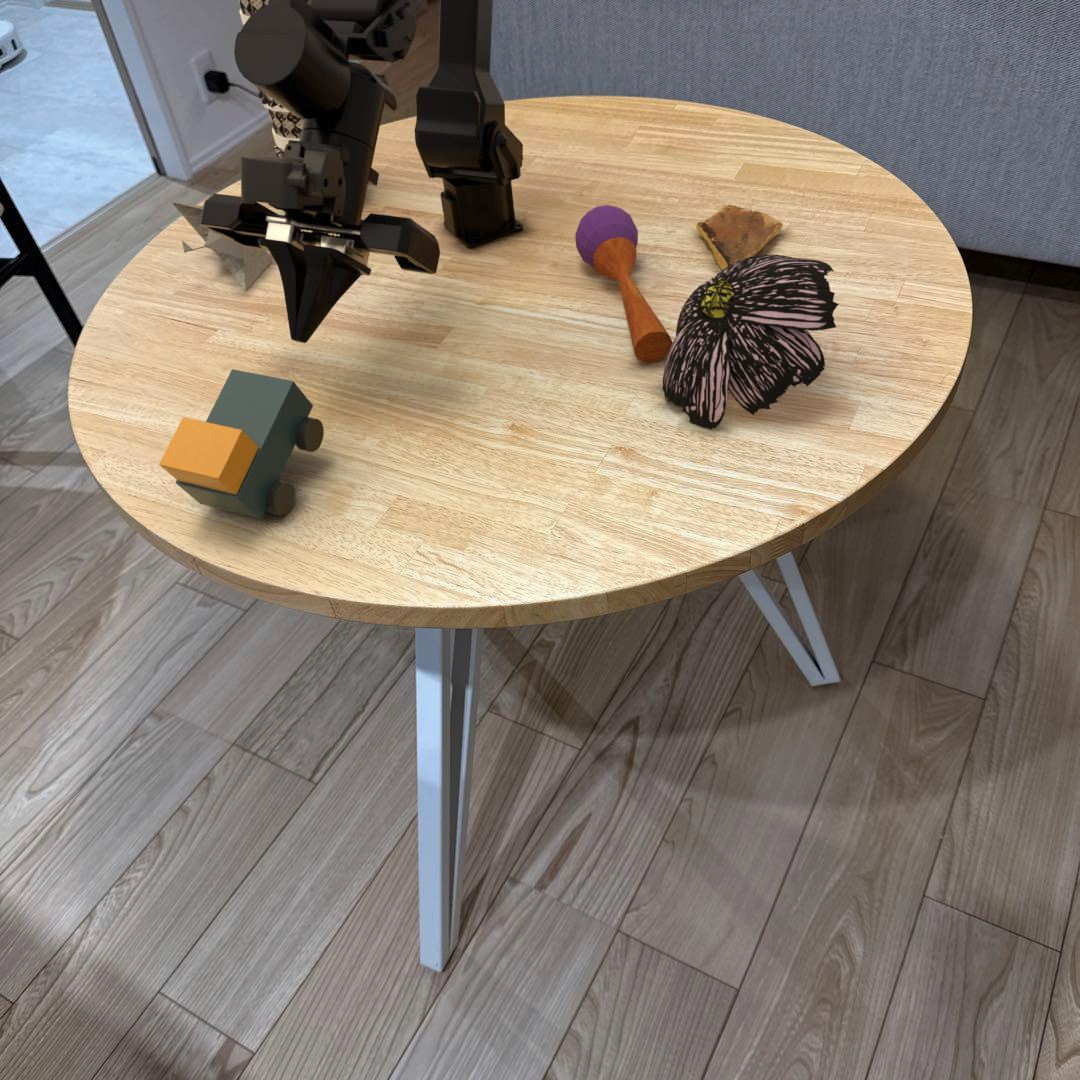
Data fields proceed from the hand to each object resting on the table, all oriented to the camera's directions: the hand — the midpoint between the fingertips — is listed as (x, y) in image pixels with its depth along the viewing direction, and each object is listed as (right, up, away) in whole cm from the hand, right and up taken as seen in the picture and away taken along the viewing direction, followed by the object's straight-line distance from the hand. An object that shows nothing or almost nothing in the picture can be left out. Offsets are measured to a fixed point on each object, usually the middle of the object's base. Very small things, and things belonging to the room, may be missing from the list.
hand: (298, 341), depth 79 cm
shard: (+40, +13, +19) cm, 46 cm away
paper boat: (-13, +13, +25) cm, 31 cm away
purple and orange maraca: (+27, +6, +14) cm, 31 cm away
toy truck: (-1, -4, -2) cm, 5 cm away
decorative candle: (-5, +22, +34) cm, 41 cm away
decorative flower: (+36, -3, +4) cm, 36 cm away
